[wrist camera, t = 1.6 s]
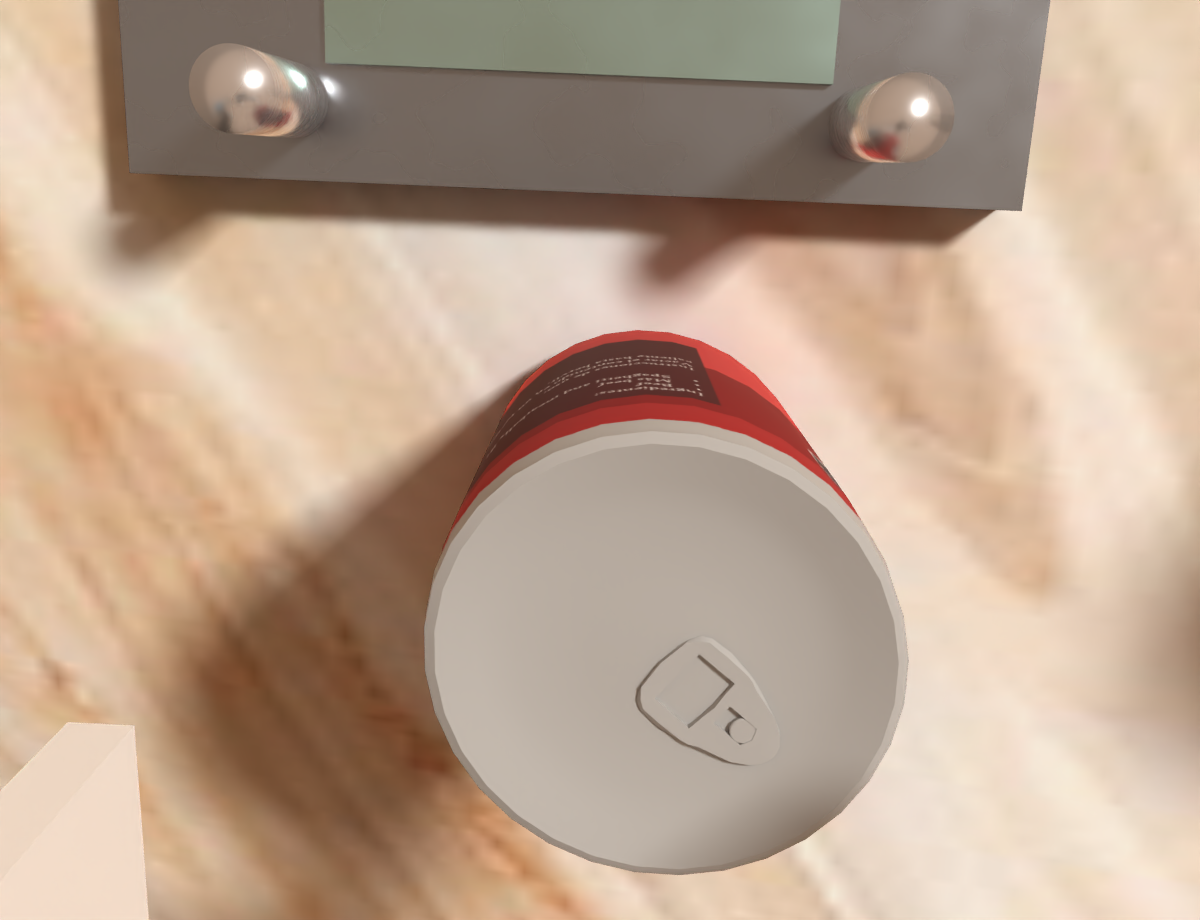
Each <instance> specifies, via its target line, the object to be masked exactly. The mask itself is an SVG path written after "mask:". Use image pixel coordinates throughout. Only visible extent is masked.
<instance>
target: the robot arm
mask: <svg viewBox="0 0 1200 920" xmlns="http://www.w3.org/2000/svg"><path fill="white" fill-rule="evenodd" d="M0 920H149V915H148V902H147V889H146V875H145V862H144V848H143V835H142V821H141V808H140V795H139V781H138V768H137V754H136V741H135V727H134V725H116V724H95V723H74V722H67V723H66V724H65V725H64V726H63V727H62V728H61V729H60V730H59V731H58V732H57V733H56V735H55V736H54V737H53V738H52V739H51V740H50V741H49V742H48V743H47V744H46V745H45V746H44V747H43V748H42V749H41V750H40V751H39V752H38V753H37V754H36V755H35V756H34V757H33V758H32V759H31V760H30V761H29V762H28V763H27V764H26V765H25V766H24V767H23V768H22V769H21V770H20V771H19V772H18V773H17V774H16V775H15V776H14V777H13V778H12V779H11V780H10V781H9V782H8V783H7V784H6V785H5V786H4V787H3V788H2V789H1V790H0Z"/></svg>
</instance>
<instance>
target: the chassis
mask: <svg viewBox="0 0 1200 920" xmlns="http://www.w3.org/2000/svg"><path fill="white" fill-rule="evenodd" d="M118 5H119V20H120V35H121V50H122V65H123V80H124V95H125V110H126V125H127V140H128V156H129V171H130V173H142V174H166V175H189V176H213V177H236V178H260V179H283V180H307V181H330V182H354V183H377V184H400V185H424V186H447V187H471V188H494V189H518V190H541V191H565V192H588V193H612V194H635V195H658V196H682V197H705V198H729V199H752V200H776V201H799V202H823V203H846V204H870V205H893V206H916V207H940V208H963V209H987V210H1010V211H1022V204H1023V197H1024V189H1025V182H1026V175H1027V167H1028V160H1029V153H1030V145H1031V138H1032V131H1033V123H1034V116H1035V109H1036V101H1037V94H1038V87H1039V79H1040V72H1041V65H1042V57H1043V50H1044V42H1045V35H1046V28H1047V20H1048V13H1049V6H1050V0H118Z"/></svg>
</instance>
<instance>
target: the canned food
mask: <svg viewBox="0 0 1200 920" xmlns="http://www.w3.org/2000/svg"><path fill="white" fill-rule="evenodd" d="M424 645H425V673H426V677H427V681H428V685H429V690H430V694H431V698H432V702H433V707H434V711H435V714H436V716H437V718H438V721H439V723H440V725H441V727H442V729H443V731H444V734H445V736H446V738H447V740H448V742H449V744H450V747H451V749H452V751H453V753H454V754H455V756H456V757H457V758H458V760H459V761H460V762H461V764H462V765H463V767H464V768H465V769H466V771H467V772H468V774H469V775H470V776H471V778H472V779H473V780H474V782H475V783H476V785H477V786H478V787H479V789H481V790H482V791H483V792H484V793H485V794H486V795H487V796H488V797H489V798H490V799H491V800H492V801H493V802H494V803H495V804H496V805H497V806H498V807H500V808H501V809H502V810H503V811H504V812H505V813H506V814H507V815H508V816H509V817H510V818H511V819H512V820H514V821H516V822H517V823H519V824H520V825H522V826H523V827H525V828H526V829H528V830H529V831H531V832H532V833H534V834H535V835H537V836H538V837H540V838H541V839H543V840H545V841H546V842H548V843H549V844H551V845H554V846H556V847H558V848H561V849H563V850H565V851H568V852H570V853H572V854H575V855H577V856H579V857H582V858H584V859H586V860H589V861H591V862H595V863H599V864H604V865H608V866H612V867H616V868H620V869H624V870H628V871H633V872H643V873H657V874H672V875H684V874H694V873H704V872H714V871H724V870H727V869H731V868H734V867H738V866H741V865H745V864H748V863H752V862H755V861H759V860H763V859H766V858H768V857H770V856H772V855H774V854H776V853H778V852H781V851H783V850H785V849H787V848H789V847H791V846H793V845H795V844H797V843H799V842H801V841H803V840H805V839H807V838H808V837H809V836H811V835H812V834H813V833H815V832H816V831H817V830H819V829H820V828H821V827H823V826H824V825H825V824H827V823H828V822H829V821H831V820H832V819H833V818H835V817H836V816H837V815H839V814H840V813H841V812H842V811H843V810H844V809H845V808H846V806H847V805H848V804H849V803H850V802H851V801H852V800H853V799H854V797H855V796H856V795H857V794H858V793H859V792H860V791H861V790H862V789H863V787H864V786H865V785H866V784H867V783H868V782H869V781H870V779H871V777H872V775H873V774H874V772H875V770H876V769H877V767H878V765H879V763H880V762H881V760H882V758H883V757H884V755H885V753H886V751H887V750H888V748H889V746H890V745H891V742H892V739H893V736H894V733H895V730H896V727H897V724H898V721H899V718H900V715H901V711H902V708H903V705H904V700H905V690H906V681H907V671H908V661H909V660H908V651H907V642H906V633H905V624H904V616H903V613H902V610H901V607H900V604H899V601H898V598H897V595H896V592H895V589H894V586H893V583H892V580H891V577H890V574H889V571H888V568H887V565H886V562H885V560H884V558H883V556H882V555H881V553H880V551H879V549H878V548H877V546H876V544H875V543H874V541H873V539H872V538H871V536H870V534H869V532H868V531H867V529H866V527H865V526H864V524H863V522H862V521H861V519H860V518H859V516H858V515H857V513H856V511H855V509H854V508H853V506H852V504H851V503H850V501H849V499H848V498H847V497H846V495H845V494H844V492H843V491H842V490H841V488H840V487H839V485H838V484H837V482H836V481H835V480H834V478H833V477H832V475H831V474H830V473H829V471H828V470H827V468H826V467H825V466H824V464H823V463H822V461H821V460H820V459H819V457H818V456H817V454H816V453H815V452H814V450H813V449H812V447H811V446H810V445H809V443H808V442H807V440H806V439H805V438H804V436H803V435H802V433H801V432H800V431H799V429H798V428H797V426H796V425H795V424H794V422H793V421H792V419H791V418H790V417H789V415H788V414H787V412H786V411H785V410H784V408H783V407H782V405H781V404H780V403H779V401H778V400H777V398H776V397H775V396H774V395H773V394H772V393H771V392H770V391H769V389H768V388H767V387H766V386H765V385H764V384H763V383H762V382H761V380H760V379H759V378H758V377H757V376H756V375H755V374H754V373H752V372H751V371H750V370H748V369H747V368H746V367H745V366H743V365H742V364H741V363H739V362H738V361H737V360H735V359H734V358H733V357H731V356H730V355H728V354H726V353H724V352H722V351H720V350H718V349H716V348H714V347H712V346H710V345H708V344H706V343H704V342H702V341H699V340H695V339H691V338H688V337H684V336H680V335H677V334H673V333H669V332H655V331H641V330H635V331H627V332H619V333H611V334H604V335H601V336H598V337H595V338H592V339H589V340H586V341H583V342H580V343H577V344H575V345H573V346H571V347H570V348H568V349H566V350H564V351H563V352H561V353H559V354H558V355H556V356H554V357H552V358H551V359H549V360H548V361H547V362H545V363H544V364H543V365H542V366H541V367H540V368H539V369H538V370H536V371H535V372H534V373H533V374H532V375H531V376H530V377H529V378H528V379H526V380H525V382H524V383H523V385H522V386H521V387H520V389H519V390H518V391H517V393H516V394H515V396H514V397H513V398H512V400H511V401H510V402H509V404H508V405H507V408H506V410H505V412H504V414H503V416H502V418H501V421H500V423H499V425H498V427H497V429H496V431H495V434H494V436H493V438H492V440H491V442H490V445H489V447H488V449H487V451H486V453H485V455H484V458H483V460H482V462H481V464H480V466H479V468H478V471H477V473H476V475H475V477H474V479H473V481H472V484H471V486H470V488H469V490H468V492H467V494H466V497H465V499H464V501H463V503H462V505H461V507H460V510H459V512H458V514H457V516H456V519H455V521H454V523H453V526H452V528H451V530H450V532H449V535H448V537H447V539H446V541H445V544H444V546H443V550H442V554H441V556H440V558H439V561H438V563H437V565H436V567H435V570H434V574H433V579H432V584H431V589H430V594H429V599H428V604H427V609H426V620H425V625H424Z"/></svg>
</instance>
